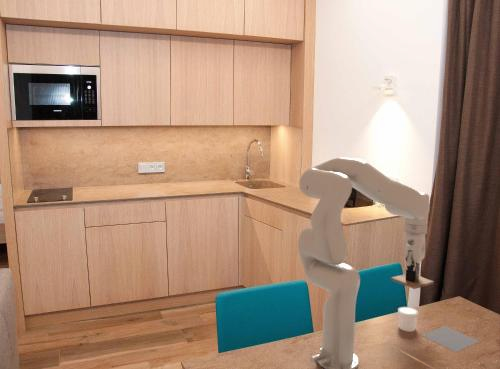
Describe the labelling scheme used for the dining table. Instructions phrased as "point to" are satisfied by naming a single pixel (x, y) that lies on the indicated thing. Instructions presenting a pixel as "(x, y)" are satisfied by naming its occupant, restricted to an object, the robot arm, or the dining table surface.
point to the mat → (450, 339)
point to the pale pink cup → (407, 318)
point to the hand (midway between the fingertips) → (412, 278)
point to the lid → (417, 284)
